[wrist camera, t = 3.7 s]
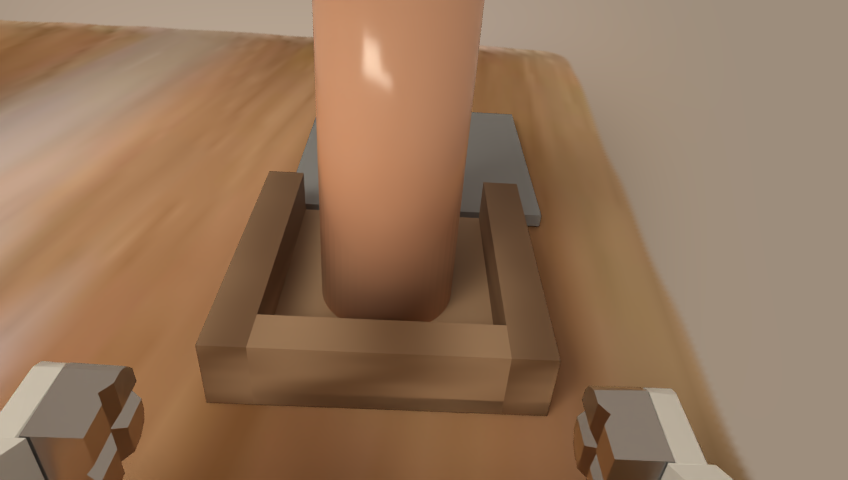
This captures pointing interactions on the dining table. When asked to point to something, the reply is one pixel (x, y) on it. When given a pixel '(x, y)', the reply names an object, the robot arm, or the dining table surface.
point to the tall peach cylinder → (392, 150)
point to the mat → (486, 162)
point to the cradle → (380, 322)
